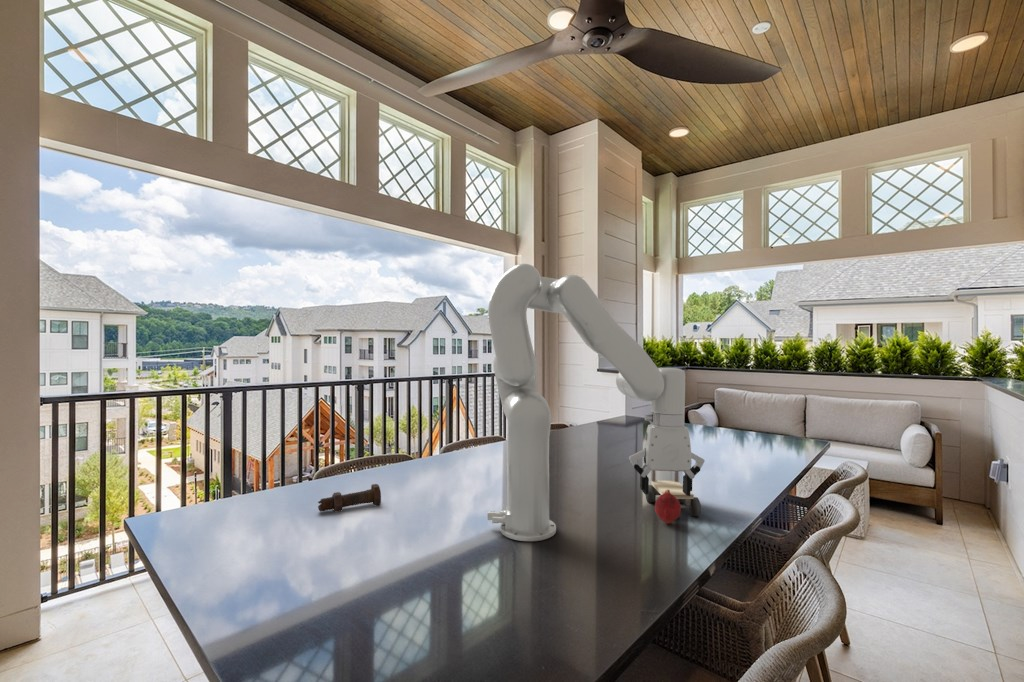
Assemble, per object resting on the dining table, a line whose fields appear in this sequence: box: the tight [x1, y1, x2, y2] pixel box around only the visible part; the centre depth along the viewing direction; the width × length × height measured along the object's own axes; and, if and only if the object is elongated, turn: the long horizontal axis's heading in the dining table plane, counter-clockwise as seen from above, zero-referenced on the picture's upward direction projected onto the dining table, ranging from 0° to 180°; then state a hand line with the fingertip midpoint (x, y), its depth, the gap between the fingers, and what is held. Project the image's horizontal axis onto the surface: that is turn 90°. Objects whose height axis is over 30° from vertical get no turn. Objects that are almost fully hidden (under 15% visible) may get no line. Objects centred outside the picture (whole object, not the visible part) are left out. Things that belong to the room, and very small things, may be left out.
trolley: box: [644, 470, 702, 517], centre depth 121 cm, size 14×10×14 cm, turn 179°
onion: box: [654, 489, 682, 525], centre depth 111 cm, size 6×6×8 cm
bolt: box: [317, 483, 382, 512], centre depth 122 cm, size 6×5×15 cm
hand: (665, 493), depth 111 cm, fingers open, 9 cm apart
